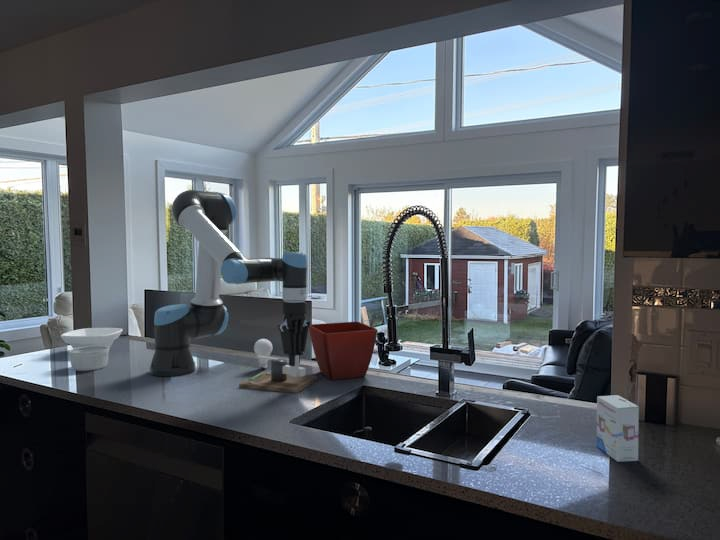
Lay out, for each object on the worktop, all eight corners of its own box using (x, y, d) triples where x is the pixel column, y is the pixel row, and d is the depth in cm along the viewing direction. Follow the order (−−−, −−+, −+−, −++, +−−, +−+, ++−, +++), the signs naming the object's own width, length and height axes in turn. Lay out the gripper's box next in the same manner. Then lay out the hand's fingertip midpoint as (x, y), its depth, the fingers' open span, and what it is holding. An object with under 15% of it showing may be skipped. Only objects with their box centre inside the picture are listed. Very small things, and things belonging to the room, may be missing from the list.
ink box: (594, 446, 115) (595, 394, 115) (615, 445, 116) (617, 394, 115) (616, 462, 107) (618, 406, 106) (639, 461, 107) (641, 406, 107)
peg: (253, 377, 169) (253, 357, 168) (264, 373, 173) (263, 354, 173) (298, 385, 159) (298, 364, 159) (308, 381, 164) (308, 360, 163)
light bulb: (274, 366, 189) (274, 337, 188) (269, 371, 182) (269, 340, 182) (257, 366, 190) (257, 337, 189) (251, 370, 183) (251, 340, 182)
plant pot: (324, 384, 166) (324, 332, 165) (308, 370, 184) (308, 324, 183) (378, 378, 173) (378, 329, 172) (357, 366, 191) (357, 321, 190)
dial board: (238, 387, 162) (238, 383, 162) (263, 374, 178) (263, 370, 178) (296, 393, 156) (296, 388, 156) (317, 379, 172) (316, 374, 172)
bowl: (105, 357, 204) (104, 336, 204) (53, 357, 204) (53, 336, 204) (129, 347, 225) (128, 327, 224) (82, 346, 225) (82, 327, 225)
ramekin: (60, 370, 184) (60, 350, 184) (92, 362, 196) (91, 344, 196) (87, 373, 179) (86, 354, 179) (117, 365, 191) (117, 347, 191)
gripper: (289, 303, 153) (289, 381, 154) (316, 300, 164) (316, 373, 164) (271, 301, 157) (271, 377, 158) (299, 299, 168) (298, 370, 169)
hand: (294, 375), depth 161 cm, fingers closed
